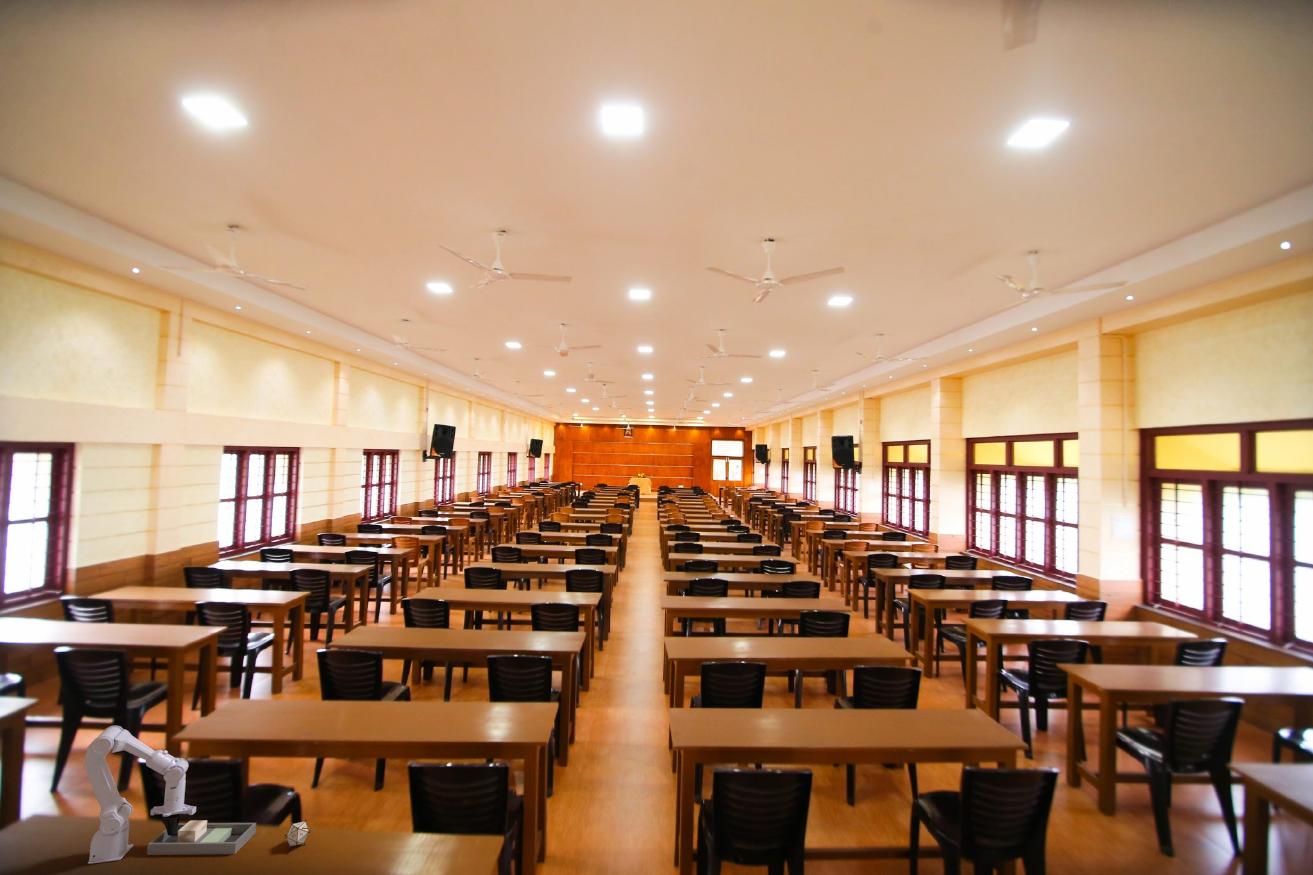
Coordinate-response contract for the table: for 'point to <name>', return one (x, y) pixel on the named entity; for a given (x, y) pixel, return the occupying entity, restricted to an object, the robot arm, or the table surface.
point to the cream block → (192, 831)
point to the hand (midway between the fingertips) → (171, 833)
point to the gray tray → (204, 840)
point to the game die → (297, 833)
